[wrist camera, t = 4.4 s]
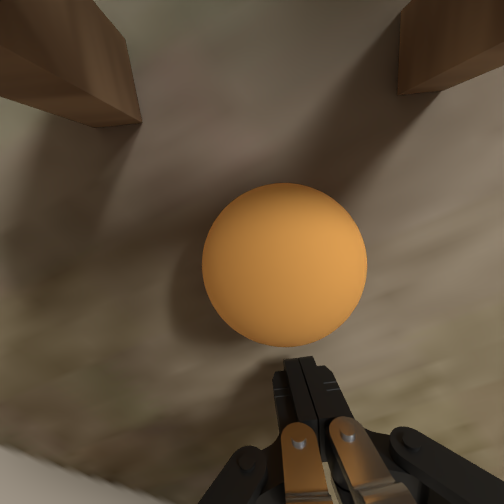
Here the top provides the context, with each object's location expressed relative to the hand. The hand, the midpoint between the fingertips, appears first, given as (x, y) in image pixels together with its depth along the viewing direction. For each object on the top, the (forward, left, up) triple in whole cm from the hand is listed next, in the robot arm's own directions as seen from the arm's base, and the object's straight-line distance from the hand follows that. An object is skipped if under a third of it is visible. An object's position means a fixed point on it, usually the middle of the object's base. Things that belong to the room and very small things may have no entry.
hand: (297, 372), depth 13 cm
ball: (-6, -1, +2) cm, 7 cm away
